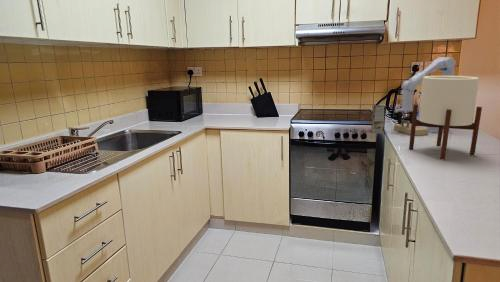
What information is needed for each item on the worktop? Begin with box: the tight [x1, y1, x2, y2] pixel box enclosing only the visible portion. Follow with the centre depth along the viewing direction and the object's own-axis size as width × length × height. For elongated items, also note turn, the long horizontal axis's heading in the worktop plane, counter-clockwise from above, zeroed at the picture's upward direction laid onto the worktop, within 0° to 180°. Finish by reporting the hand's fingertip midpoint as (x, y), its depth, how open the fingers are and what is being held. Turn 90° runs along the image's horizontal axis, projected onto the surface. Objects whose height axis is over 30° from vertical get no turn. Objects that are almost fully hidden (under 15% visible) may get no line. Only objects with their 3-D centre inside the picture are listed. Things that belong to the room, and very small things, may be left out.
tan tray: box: [393, 124, 429, 137], centre depth 207 cm, size 10×18×3 cm, turn 11°
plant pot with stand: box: [408, 75, 483, 160], centre depth 162 cm, size 22×22×36 cm
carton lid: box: [393, 118, 428, 131], centre depth 206 cm, size 10×18×5 cm, turn 11°
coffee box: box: [371, 104, 387, 135], centre depth 208 cm, size 9×6×16 cm
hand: (405, 123), depth 205 cm, fingers open, 7 cm apart
